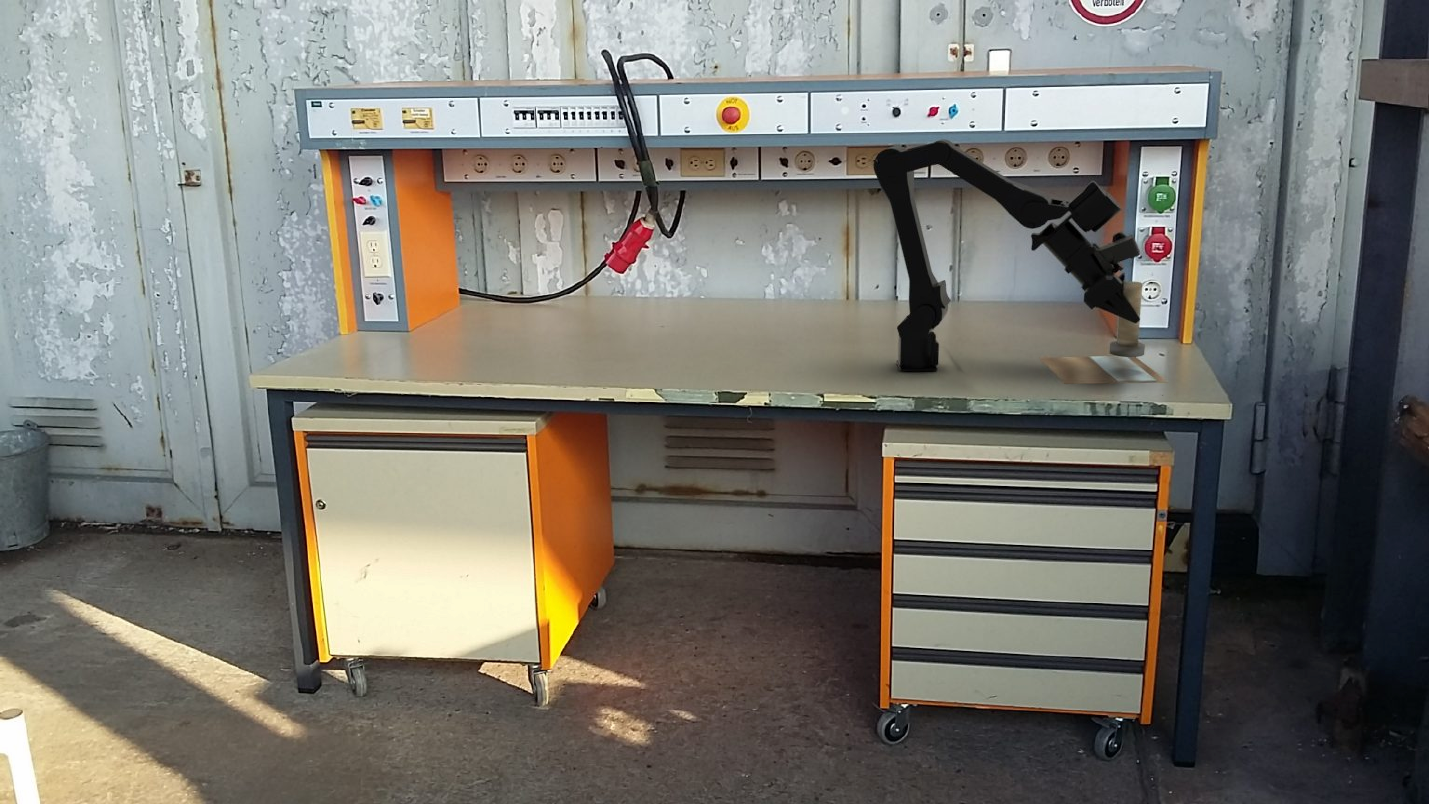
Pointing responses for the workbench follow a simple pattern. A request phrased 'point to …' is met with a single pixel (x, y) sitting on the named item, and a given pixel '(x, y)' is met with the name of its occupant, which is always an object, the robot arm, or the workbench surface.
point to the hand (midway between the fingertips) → (1138, 319)
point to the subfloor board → (1102, 370)
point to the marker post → (1129, 326)
